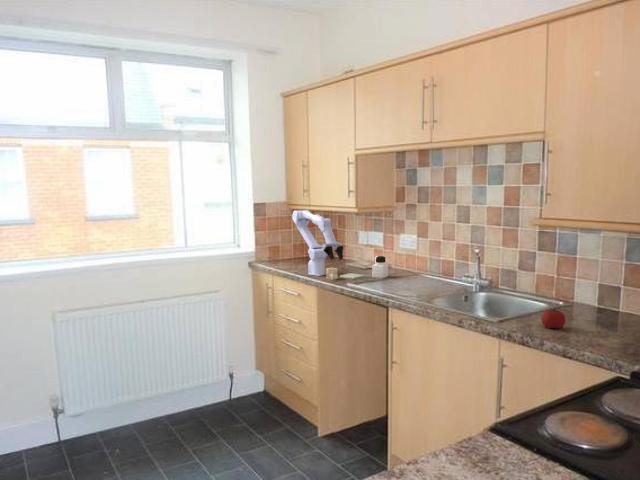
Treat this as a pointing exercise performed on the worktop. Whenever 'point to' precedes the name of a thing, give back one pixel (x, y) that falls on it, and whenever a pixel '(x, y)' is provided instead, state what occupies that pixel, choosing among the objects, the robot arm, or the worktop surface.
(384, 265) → the medicine bottle
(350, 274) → the tile
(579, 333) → the worktop surface
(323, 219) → the robot arm
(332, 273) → the beech block
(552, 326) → the tomato
